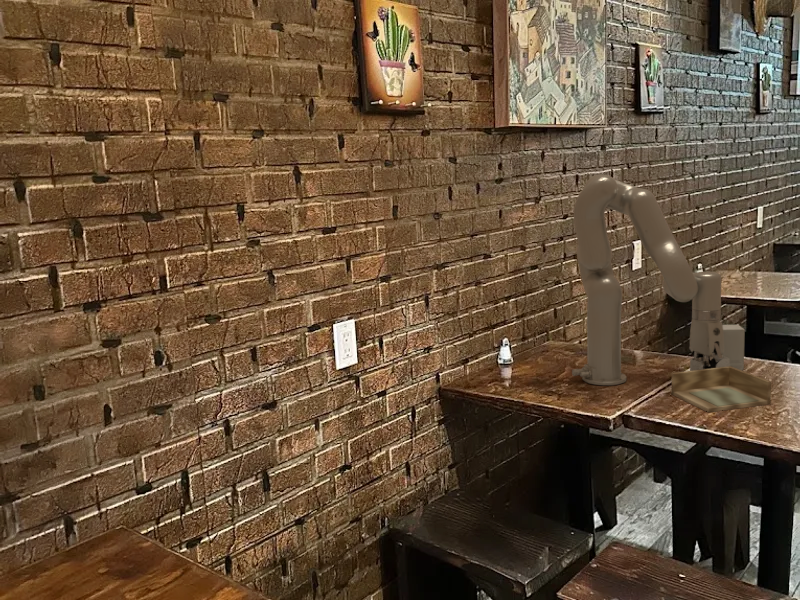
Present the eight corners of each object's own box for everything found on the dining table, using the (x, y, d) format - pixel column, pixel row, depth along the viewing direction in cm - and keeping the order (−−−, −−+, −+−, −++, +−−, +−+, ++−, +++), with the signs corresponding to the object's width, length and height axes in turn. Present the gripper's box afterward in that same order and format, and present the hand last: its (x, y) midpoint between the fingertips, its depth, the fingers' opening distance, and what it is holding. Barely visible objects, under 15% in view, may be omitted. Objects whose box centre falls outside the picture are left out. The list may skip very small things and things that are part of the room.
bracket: (698, 382, 205) (698, 361, 204) (681, 374, 212) (682, 355, 211) (729, 378, 206) (729, 358, 205) (711, 371, 214) (712, 351, 213)
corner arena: (708, 412, 180) (708, 389, 179) (671, 394, 195) (671, 373, 194) (770, 404, 183) (771, 381, 182) (729, 386, 199) (730, 366, 198)
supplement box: (744, 370, 213) (745, 329, 211) (717, 370, 215) (718, 329, 213) (737, 364, 220) (739, 324, 218) (712, 364, 222) (713, 324, 220)
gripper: (737, 319, 197) (735, 383, 200) (699, 308, 213) (698, 368, 216) (713, 321, 195) (711, 386, 198) (677, 311, 211) (676, 370, 214)
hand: (705, 376), depth 207 cm, fingers closed on bracket, 4 cm apart
